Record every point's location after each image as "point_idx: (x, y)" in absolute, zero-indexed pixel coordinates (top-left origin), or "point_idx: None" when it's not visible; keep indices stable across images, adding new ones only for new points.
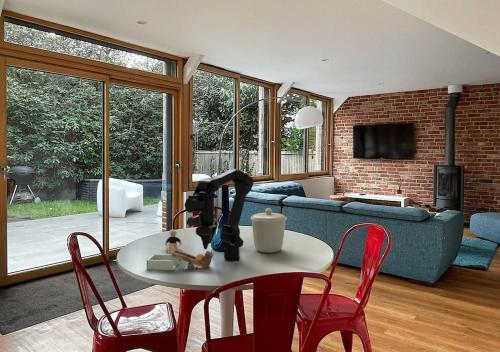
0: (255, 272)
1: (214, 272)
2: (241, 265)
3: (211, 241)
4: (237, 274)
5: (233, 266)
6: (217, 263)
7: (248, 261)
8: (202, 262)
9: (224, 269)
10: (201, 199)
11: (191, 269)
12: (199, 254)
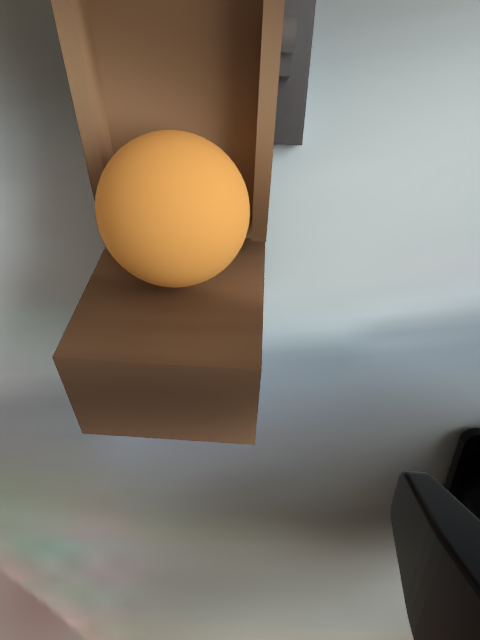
0: (127, 619)
1: None
2: (293, 550)
3: (404, 575)
4: (55, 527)
5: (263, 499)
6: (368, 365)
7: None
8: (104, 254)
9: None
10: None
11: None
12: (124, 227)
